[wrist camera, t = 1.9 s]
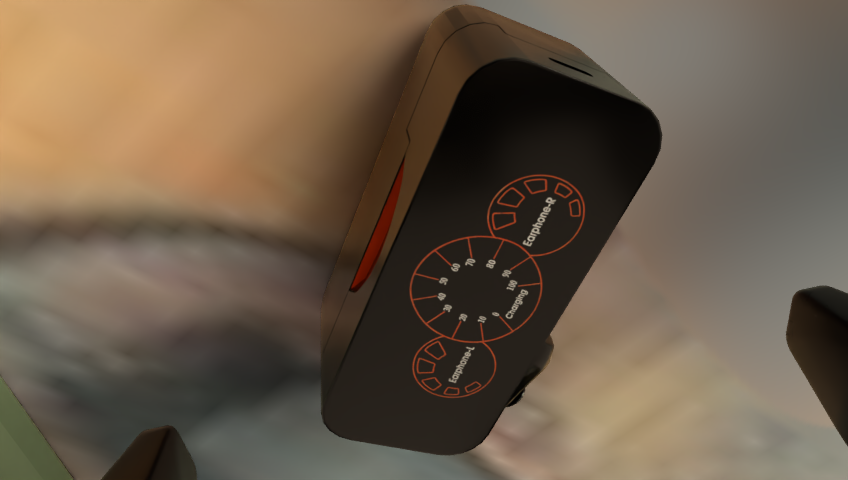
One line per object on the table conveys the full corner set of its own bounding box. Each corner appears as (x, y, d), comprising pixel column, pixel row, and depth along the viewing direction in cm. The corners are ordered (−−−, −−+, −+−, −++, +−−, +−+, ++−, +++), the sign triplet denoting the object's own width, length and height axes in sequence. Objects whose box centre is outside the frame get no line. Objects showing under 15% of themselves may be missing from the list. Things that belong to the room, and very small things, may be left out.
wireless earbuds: (300, 335, 13) (295, 468, 10) (436, -17, 10) (481, 40, 7) (505, 379, 15) (547, 506, 12) (681, 83, 11) (796, 163, 9)
